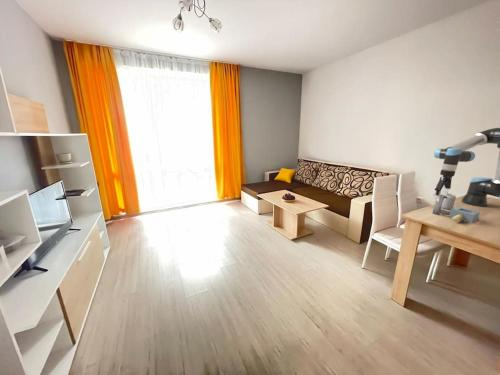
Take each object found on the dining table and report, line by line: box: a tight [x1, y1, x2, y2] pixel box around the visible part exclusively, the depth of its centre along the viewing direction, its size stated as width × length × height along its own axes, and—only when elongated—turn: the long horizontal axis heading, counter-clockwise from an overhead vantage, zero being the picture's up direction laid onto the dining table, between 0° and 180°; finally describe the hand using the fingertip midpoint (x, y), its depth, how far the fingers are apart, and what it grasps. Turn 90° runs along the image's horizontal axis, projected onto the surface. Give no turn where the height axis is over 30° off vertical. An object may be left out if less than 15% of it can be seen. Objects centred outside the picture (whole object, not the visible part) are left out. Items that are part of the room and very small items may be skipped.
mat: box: [440, 208, 450, 216], centre depth 158 cm, size 8×8×1 cm
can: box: [441, 192, 457, 211], centre depth 164 cm, size 8×8×12 cm
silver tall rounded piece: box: [432, 193, 447, 216], centre depth 153 cm, size 4×8×15 cm, turn 29°
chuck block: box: [448, 205, 481, 224], centre depth 145 cm, size 22×12×6 cm, turn 119°
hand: (440, 197), depth 151 cm, fingers open, 13 cm apart
